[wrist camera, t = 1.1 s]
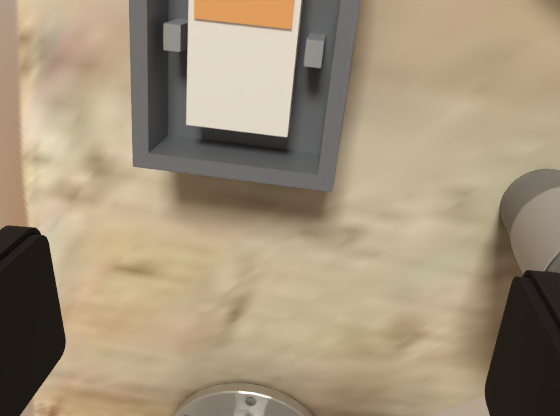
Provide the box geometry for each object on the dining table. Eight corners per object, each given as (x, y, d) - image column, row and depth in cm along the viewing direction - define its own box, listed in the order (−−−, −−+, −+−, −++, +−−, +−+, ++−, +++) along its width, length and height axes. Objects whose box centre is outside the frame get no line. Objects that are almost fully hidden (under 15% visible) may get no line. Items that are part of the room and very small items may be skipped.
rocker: (289, 130, 27) (286, 138, 26) (192, 118, 27) (185, 125, 26) (307, -45, 24) (305, -45, 22) (196, -56, 24) (188, -57, 23)
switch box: (334, 152, 32) (331, 192, 26) (169, 131, 32) (132, 166, 27) (368, -89, 27) (375, -104, 21) (171, -108, 27) (126, -128, 22)
